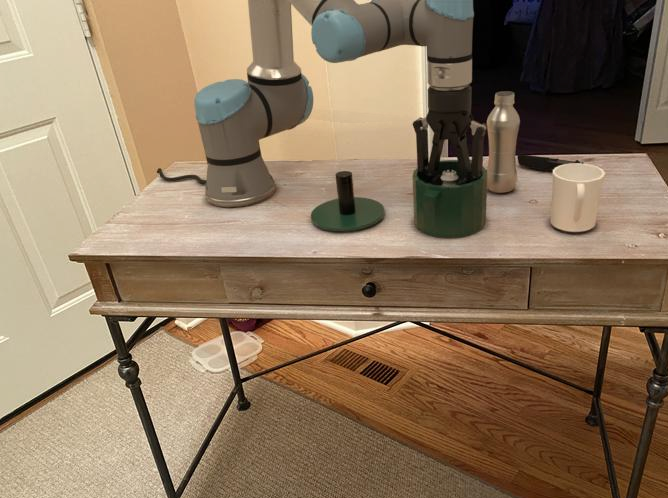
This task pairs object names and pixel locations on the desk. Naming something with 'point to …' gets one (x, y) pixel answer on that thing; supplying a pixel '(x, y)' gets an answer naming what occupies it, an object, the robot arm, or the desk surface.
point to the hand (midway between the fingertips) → (449, 210)
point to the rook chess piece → (449, 178)
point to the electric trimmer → (542, 162)
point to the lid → (347, 208)
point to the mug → (575, 197)
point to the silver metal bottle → (502, 144)
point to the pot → (449, 204)
